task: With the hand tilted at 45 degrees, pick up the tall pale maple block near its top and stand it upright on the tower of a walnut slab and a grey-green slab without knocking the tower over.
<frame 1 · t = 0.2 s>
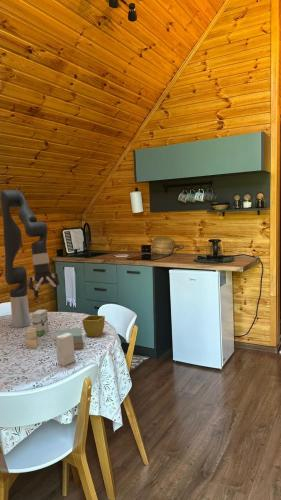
hand: (45, 296, 183), 22 cm above the table, tool pointing down, fingers open, 8 cm apart
tower top slab: (70, 339, 177), point 3 cm above the table, touching tower base slab
maple block: (32, 346, 180), on the table
skincare box: (66, 363, 159), on the table
ink box: (41, 333, 198), on the table
tower base slab: (71, 347, 178), on the table, touching tower top slab
flower pot: (94, 335, 192), on the table
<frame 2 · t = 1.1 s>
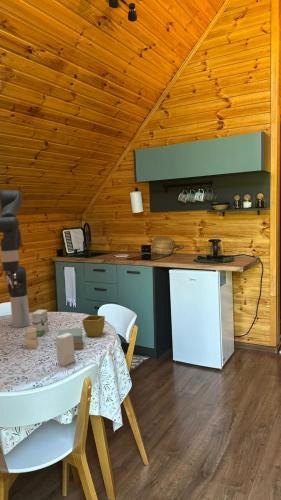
hand: (13, 294, 177), 25 cm above the table, tool pointing down, fingers open, 8 cm apart
tower top slab: (70, 339, 177), point 3 cm above the table
tower base slab: (70, 347, 178), on the table
everything else where it was.
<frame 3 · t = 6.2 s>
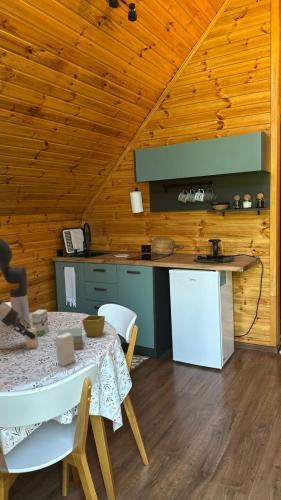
hand: (34, 335, 180), 5 cm above the table, tool tilted 45°, fingers closed on maple block, 4 cm apart
tower top slab: (70, 339, 177), point 3 cm above the table, touching tower base slab
maple block: (32, 346, 180), on the table, touching gripper
tower base slab: (70, 347, 177), on the table, touching tower top slab
everything else where it was.
when the fingers open (13 cm above the table, at t = 14.1 s): maple block drops 2 cm, resting on tower top slab.
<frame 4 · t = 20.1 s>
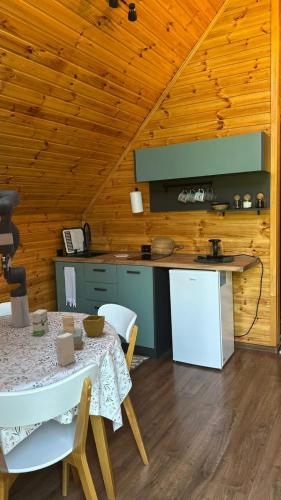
hand: (7, 277, 180), 33 cm above the table, tool pointing down, fingers open, 8 cm apart
tower top slab: (70, 340, 177), point 3 cm above the table, touching maple block, tower base slab
maple block: (69, 333, 177), point 6 cm above the table, touching tower top slab
everything else where it was.
at the end: maple block inside the target area on the tower top slab (0.1 cm from its centre), point 3.5 cm above the tower top slab's base; maple block tilted 0°; tower top slab moved 0.6 cm from its start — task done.
